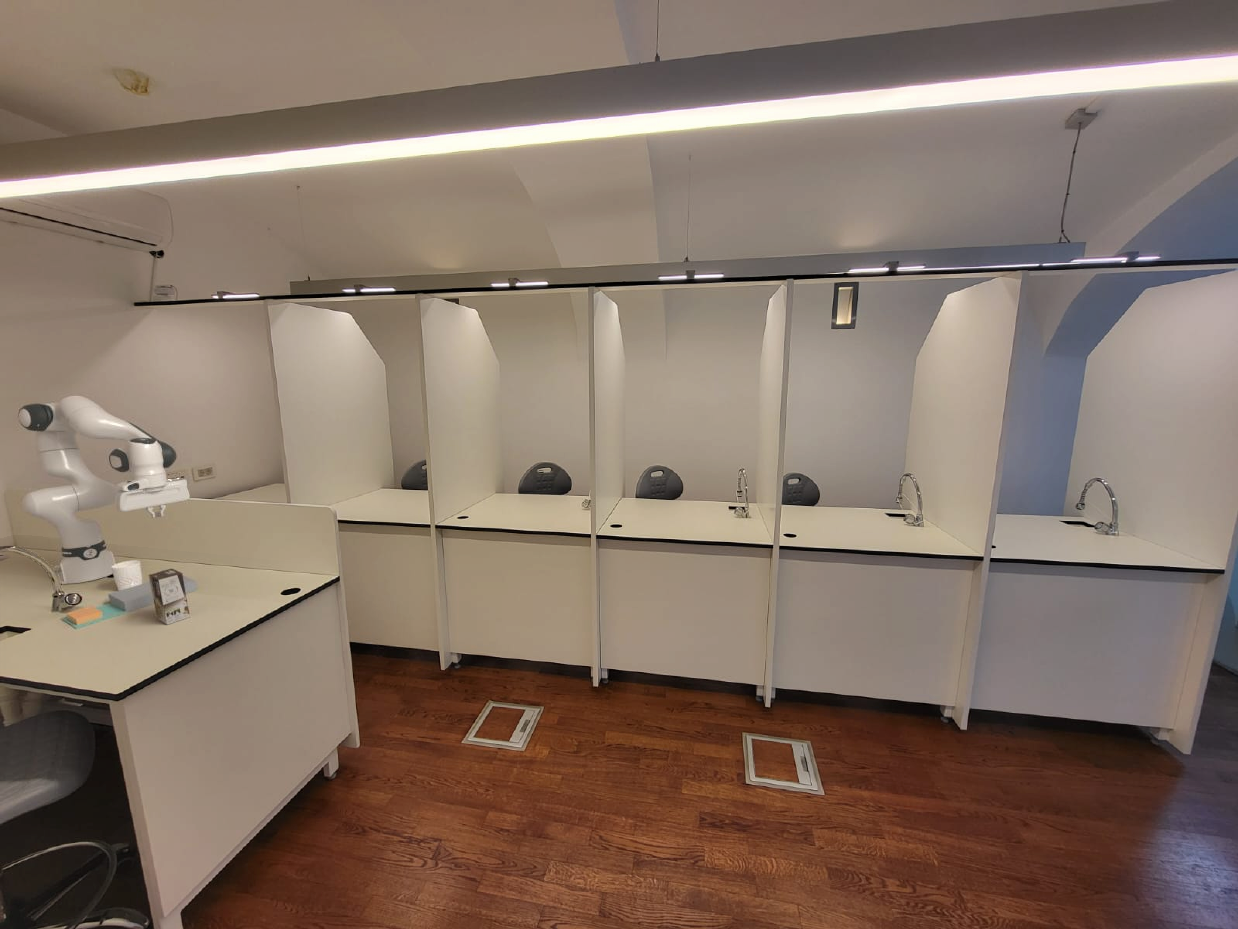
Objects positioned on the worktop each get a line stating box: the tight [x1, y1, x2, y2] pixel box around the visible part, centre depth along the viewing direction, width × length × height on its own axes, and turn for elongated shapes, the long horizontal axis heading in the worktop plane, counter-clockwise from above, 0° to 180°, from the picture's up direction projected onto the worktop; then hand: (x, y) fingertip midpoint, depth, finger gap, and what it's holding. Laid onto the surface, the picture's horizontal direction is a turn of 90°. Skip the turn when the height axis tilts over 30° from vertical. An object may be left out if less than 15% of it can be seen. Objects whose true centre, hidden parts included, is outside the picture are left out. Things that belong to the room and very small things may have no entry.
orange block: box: [65, 605, 103, 625], centre depth 161 cm, size 9×6×2 cm, turn 63°
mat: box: [60, 603, 126, 629], centre depth 163 cm, size 14×12×1 cm
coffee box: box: [148, 568, 191, 625], centre depth 160 cm, size 9×6×16 cm
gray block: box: [107, 575, 198, 614], centre depth 177 cm, size 14×20×4 cm
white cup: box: [111, 559, 144, 591], centre depth 184 cm, size 8×8×10 cm
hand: (157, 517), depth 179 cm, fingers closed
